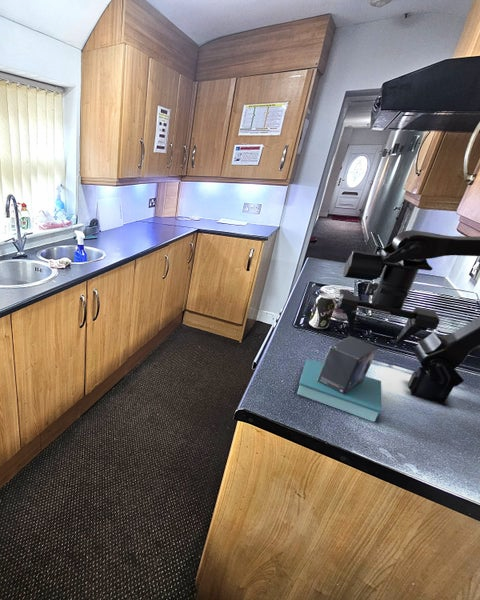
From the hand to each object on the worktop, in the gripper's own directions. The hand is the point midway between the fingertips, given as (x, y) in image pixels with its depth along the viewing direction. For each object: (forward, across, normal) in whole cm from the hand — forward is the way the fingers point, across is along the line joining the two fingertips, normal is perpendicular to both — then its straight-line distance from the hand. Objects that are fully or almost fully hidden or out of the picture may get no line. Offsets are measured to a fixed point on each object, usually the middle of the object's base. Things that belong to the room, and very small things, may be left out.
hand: (372, 339), depth 85 cm
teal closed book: (+12, +4, +12) cm, 17 cm away
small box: (+9, +4, +12) cm, 15 cm away
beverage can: (+12, +12, -28) cm, 33 cm away
